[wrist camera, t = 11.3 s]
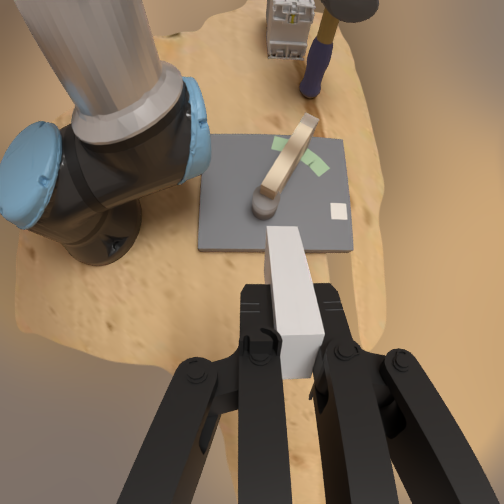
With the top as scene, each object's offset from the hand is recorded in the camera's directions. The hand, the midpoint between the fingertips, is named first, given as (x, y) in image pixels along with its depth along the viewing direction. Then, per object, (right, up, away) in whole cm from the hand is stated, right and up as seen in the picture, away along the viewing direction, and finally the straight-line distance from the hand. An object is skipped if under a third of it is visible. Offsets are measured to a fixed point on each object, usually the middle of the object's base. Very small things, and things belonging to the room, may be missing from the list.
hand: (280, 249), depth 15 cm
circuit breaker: (+6, +47, +39) cm, 61 cm away
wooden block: (+3, +11, +30) cm, 32 cm away
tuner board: (+2, +9, +32) cm, 34 cm away
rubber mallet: (+9, +30, +36) cm, 48 cm away
